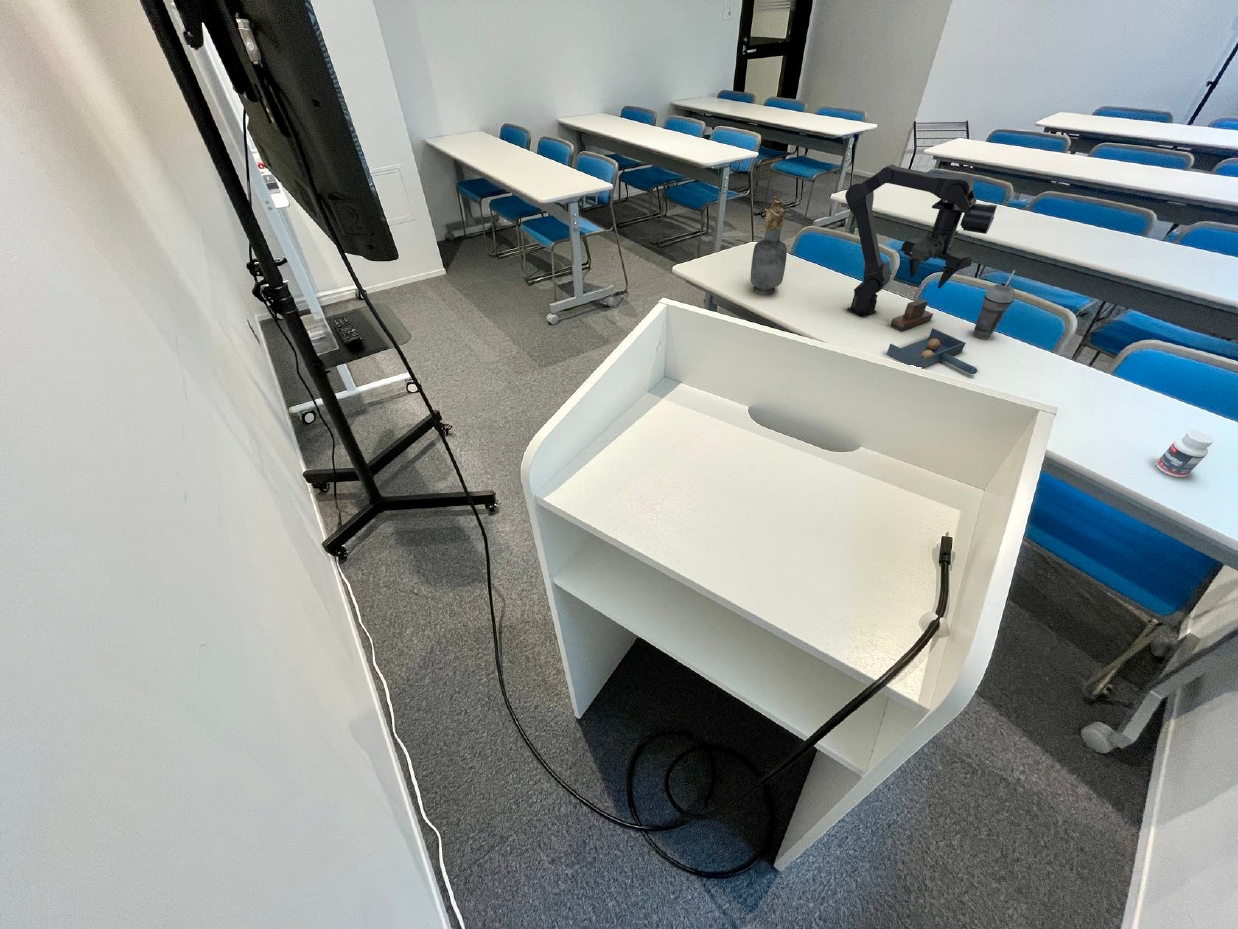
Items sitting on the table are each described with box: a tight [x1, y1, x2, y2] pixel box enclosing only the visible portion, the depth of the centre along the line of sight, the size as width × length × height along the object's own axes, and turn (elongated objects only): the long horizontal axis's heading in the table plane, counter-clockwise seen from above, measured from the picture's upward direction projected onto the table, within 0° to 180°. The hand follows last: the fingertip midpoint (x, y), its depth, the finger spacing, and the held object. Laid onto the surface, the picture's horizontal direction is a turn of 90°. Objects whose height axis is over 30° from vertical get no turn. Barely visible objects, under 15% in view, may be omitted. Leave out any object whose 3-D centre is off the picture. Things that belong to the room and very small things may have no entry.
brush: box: [889, 298, 934, 333], centre depth 161 cm, size 4×13×7 cm, turn 119°
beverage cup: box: [972, 269, 1017, 340], centre depth 150 cm, size 7×7×20 cm
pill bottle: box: [1155, 430, 1215, 478], centre depth 108 cm, size 5×5×9 cm
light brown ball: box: [921, 350, 934, 359], centre depth 145 cm, size 3×3×3 cm
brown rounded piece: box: [927, 339, 940, 350], centre depth 150 cm, size 3×3×3 cm
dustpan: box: [886, 327, 978, 375], centre depth 145 cm, size 20×18×3 cm
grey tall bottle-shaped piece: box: [750, 195, 790, 296], centre depth 177 cm, size 11×19×30 cm, turn 169°
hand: (925, 282), depth 155 cm, fingers open, 9 cm apart
